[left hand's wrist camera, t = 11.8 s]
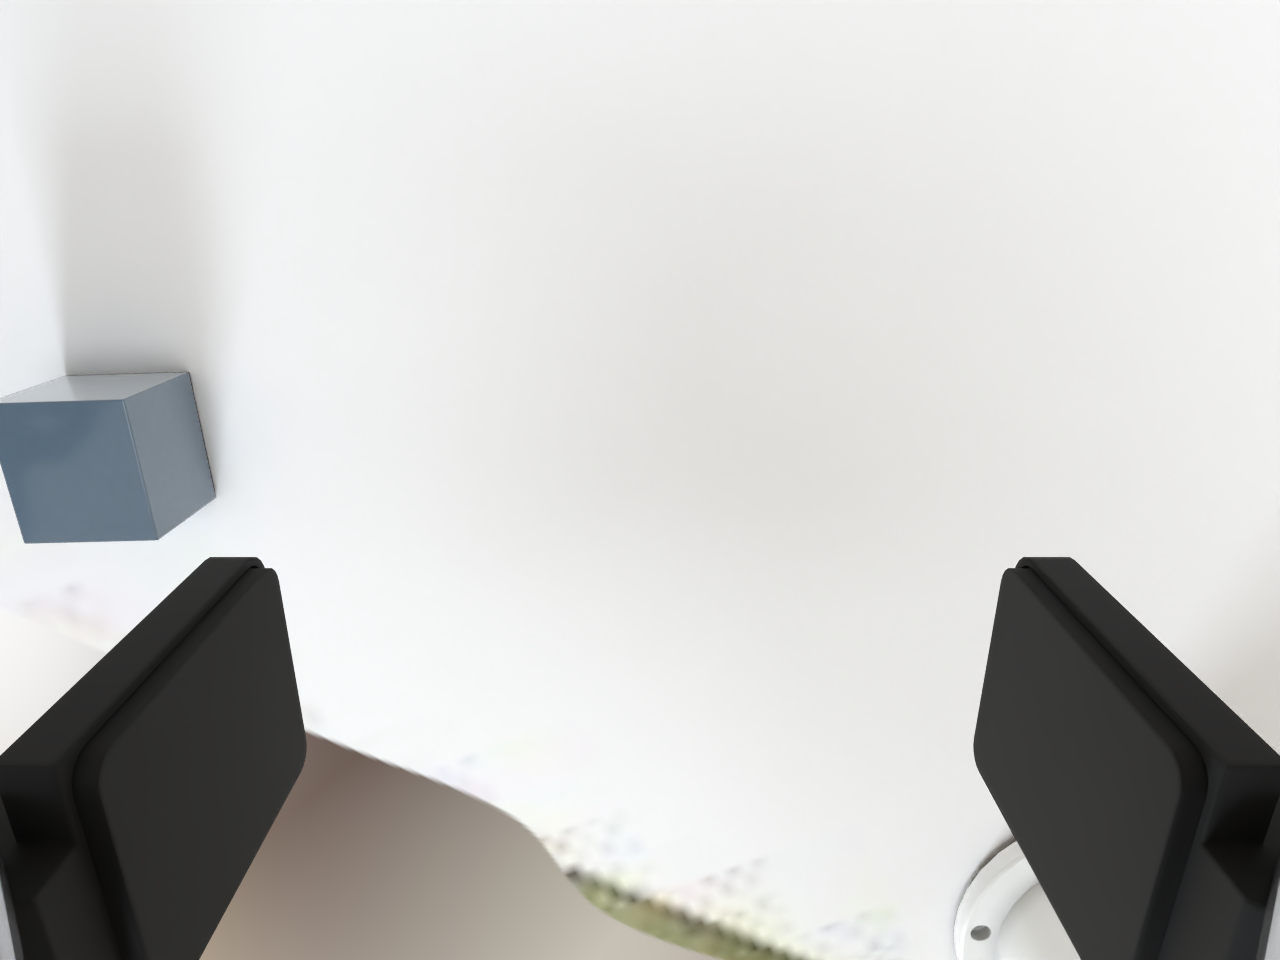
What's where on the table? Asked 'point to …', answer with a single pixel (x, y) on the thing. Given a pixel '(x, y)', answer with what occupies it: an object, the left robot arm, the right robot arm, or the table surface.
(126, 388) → the block
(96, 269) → the table surface
